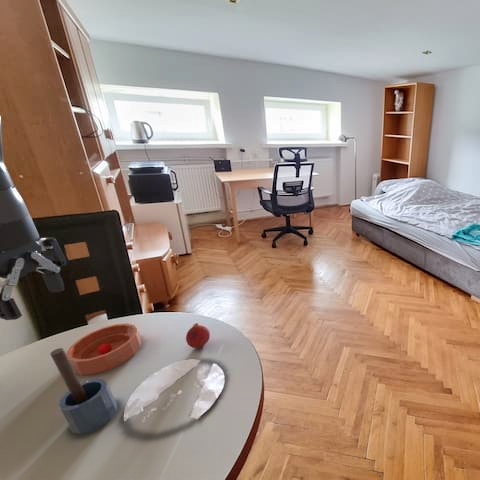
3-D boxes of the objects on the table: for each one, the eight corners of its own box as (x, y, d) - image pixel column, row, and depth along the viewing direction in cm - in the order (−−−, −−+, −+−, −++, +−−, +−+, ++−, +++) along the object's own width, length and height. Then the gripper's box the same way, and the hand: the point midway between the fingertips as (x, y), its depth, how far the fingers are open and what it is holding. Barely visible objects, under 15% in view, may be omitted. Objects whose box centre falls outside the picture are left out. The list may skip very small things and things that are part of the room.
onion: (205, 354, 79) (199, 331, 76) (185, 354, 79) (177, 331, 76) (215, 340, 84) (210, 317, 81) (196, 340, 84) (190, 317, 81)
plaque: (141, 373, 72) (140, 369, 72) (227, 354, 79) (226, 350, 78) (108, 453, 55) (105, 448, 54) (221, 419, 61) (220, 415, 61)
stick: (82, 421, 60) (47, 355, 54) (89, 413, 62) (56, 348, 56) (91, 420, 61) (57, 354, 54) (97, 413, 62) (65, 347, 56)
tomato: (105, 354, 80) (94, 354, 77) (108, 343, 81) (97, 343, 78) (112, 354, 79) (101, 354, 76) (115, 343, 80) (103, 343, 77)
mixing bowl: (58, 379, 71) (49, 364, 70) (100, 339, 85) (94, 325, 83) (121, 373, 73) (114, 358, 71) (152, 335, 87) (147, 321, 85)
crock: (62, 438, 58) (47, 412, 55) (90, 405, 65) (78, 380, 62) (102, 433, 59) (89, 407, 56) (125, 401, 66) (115, 376, 63)
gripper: (13, 207, 52) (49, 285, 58) (-93, 234, 39) (-33, 331, 44) (58, 205, 53) (89, 282, 58) (-30, 231, 39) (21, 327, 45)
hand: (37, 303), depth 51 cm, fingers open, 8 cm apart
